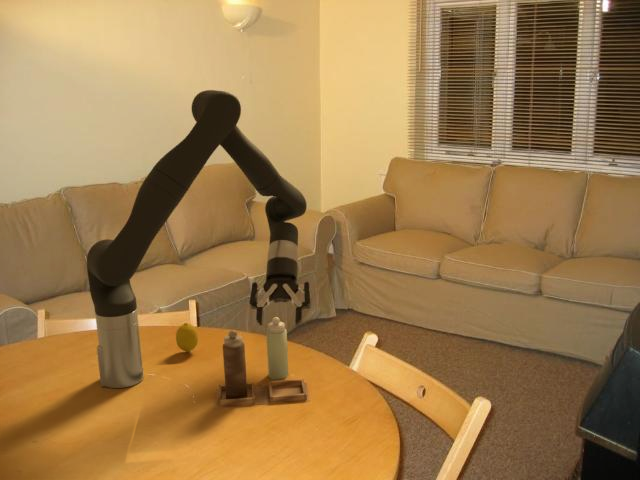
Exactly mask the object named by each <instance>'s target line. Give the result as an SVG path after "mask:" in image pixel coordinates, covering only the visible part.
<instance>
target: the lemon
mask: <svg viewBox="0 0 640 480" xmlns="http://www.w3.org/2000/svg"><path fill="white" fill-rule="evenodd" d="M197 330H198V329H197V327H195V326H194V325H193V324H191V323H188V322H184V324H181V325H180V326H178V328H177V330H176V332H175V341H176V345H177V348H179V349H180V350H182V351H184V352H186V353H191V351H193V350H194V349H195V348H196V347H197V345H198V343H199V334H198V331H197Z"/></svg>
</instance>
